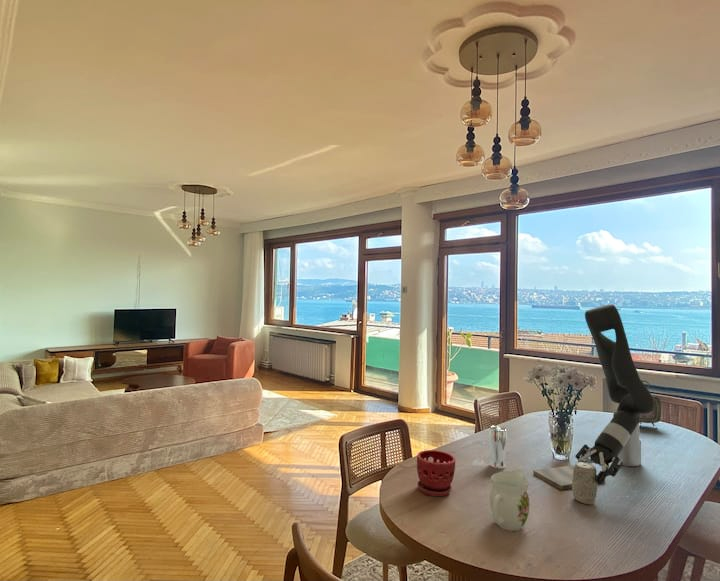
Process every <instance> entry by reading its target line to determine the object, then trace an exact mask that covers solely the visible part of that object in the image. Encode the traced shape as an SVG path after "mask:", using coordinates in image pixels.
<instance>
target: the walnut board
mask: <svg viewBox="0 0 720 581" xmlns="http://www.w3.org/2000/svg"><path fill="white" fill-rule="evenodd" d="M574 467H575V464H572V465H564V466H558V467H549V468H542V469H534V470H532V471H533V475H534V476H535V475H536V477H537V476H538V477H537V478H539V477H540V478H539V479H542V480H543V481H544V480H545V481H544V482H546V481H547V482H546V483H547V484H549V485H552V486H553V485H554V487H556V489H558V490H561V491H563V490H569V489H571V490H572V481H573V471H574ZM601 484H606V479H605V480H604V481H603V482H602V483H601ZM601 484H600V485H601Z"/></svg>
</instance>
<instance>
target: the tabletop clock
mask: <svg viewBox="0 0 720 581" xmlns="http://www.w3.org/2000/svg"><path fill="white" fill-rule="evenodd" d="M640 380H641V379H640ZM641 381H642V382H643V383H647V385H648V386H646V388H647V389H648V388H649V386H650V383H649V382H648V381H647V380H641ZM651 395H652V397H653V400H654V409H653V411H652V412H650V413H645V414H640V418H639V423H641V424H642V423H643V424H652V426H653V427H654V426H656V425H655V424H656V423H659V422H660V420H661V415H662V405H661V400H660V398H659V397H657V396H655V395H653V394H651Z"/></svg>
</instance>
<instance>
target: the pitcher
mask: <svg viewBox="0 0 720 581" xmlns="http://www.w3.org/2000/svg"><path fill="white" fill-rule="evenodd" d="M490 479H491V483H492V486H491V489H490V490H491V491H490V495H489V505H490V510H491V513H492V519H493V521H494V523H495V524H496V525H498V526H499V528H501V529H503V530H506V531H510V532H516V531H519V530H520V531H521V529H522V528H523V527H524V526H525V524H526V522H527V519H528V517H529V513H530V497H529V493H528V486H529V480H528V478H526V476H525V472H524V471H523V470H520V469H513V470H510V471H509V470H508V471H500V472H495V473H494V474H492V475H491V478H490Z"/></svg>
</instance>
